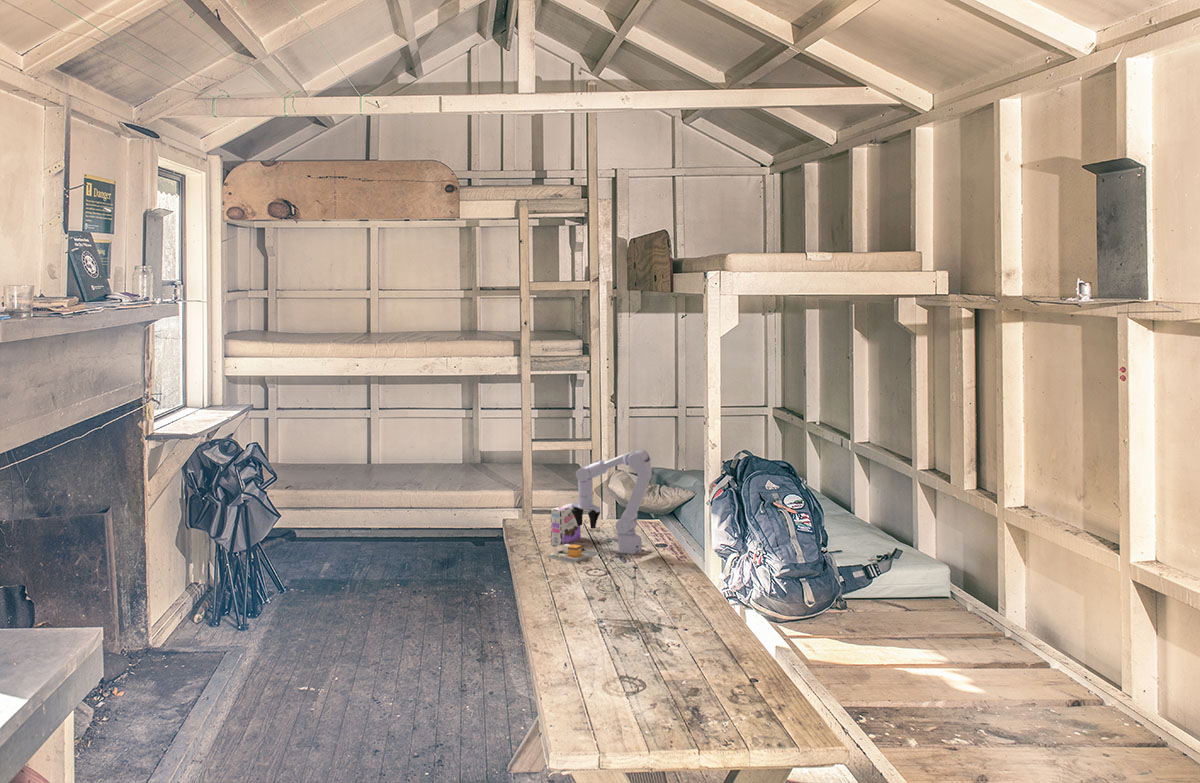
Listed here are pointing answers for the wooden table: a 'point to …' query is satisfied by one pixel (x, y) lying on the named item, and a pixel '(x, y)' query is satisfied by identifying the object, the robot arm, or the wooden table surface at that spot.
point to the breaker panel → (565, 558)
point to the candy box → (563, 525)
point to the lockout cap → (575, 551)
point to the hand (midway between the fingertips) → (586, 526)
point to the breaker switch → (565, 548)
